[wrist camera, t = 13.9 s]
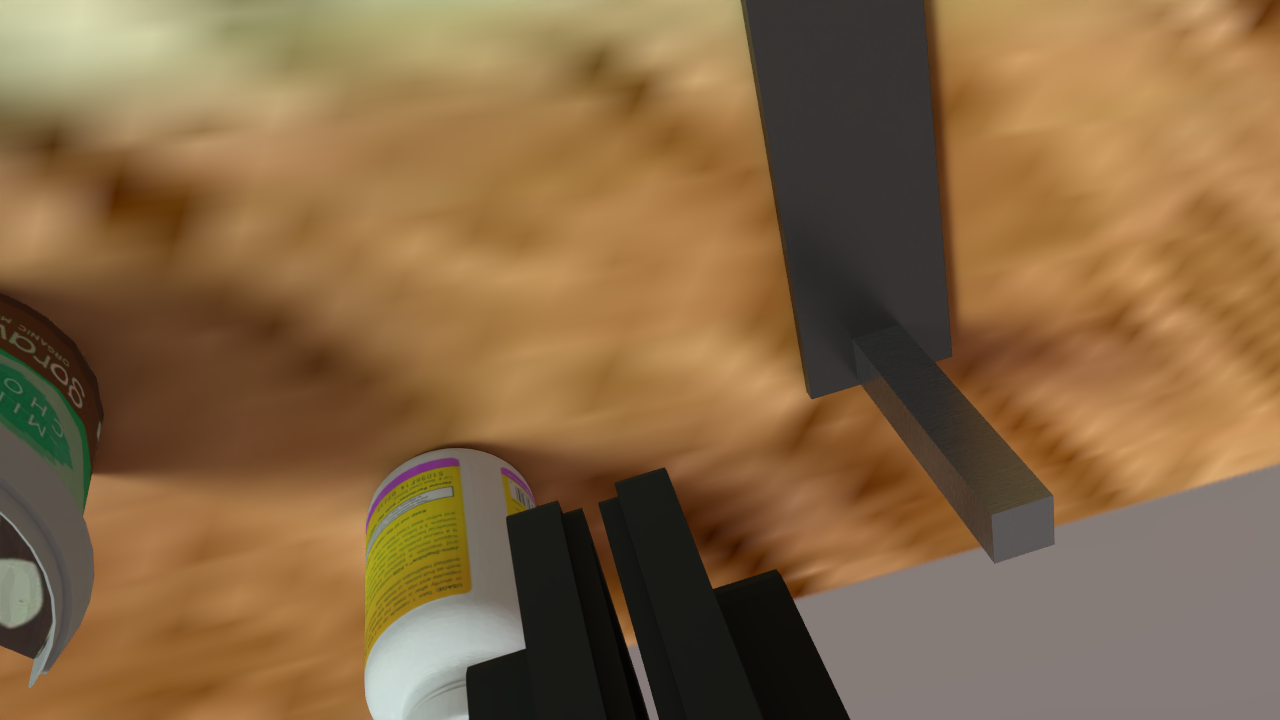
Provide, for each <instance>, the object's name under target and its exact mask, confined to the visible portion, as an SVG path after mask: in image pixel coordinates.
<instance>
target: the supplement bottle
mask: <svg viewBox="0 0 1280 720" xmlns="http://www.w3.org/2000/svg"><path fill="white" fill-rule="evenodd" d="M535 507H536V504H535V500H534V497H533V494H532V492H531V489H530V488H529V486H528V484H527V482H526V481H525V479H524V478H523V477H522V476H521V474H520V473H519V472H518V471H517V470H516V469H515V468H514V467H512V466H511V465H510V464H508V463H507V462H505V461H504V460H502V459H500V458H498V457H496V456H494V455H492V454H489V453H486V452H482V451H478V450H473V449H465V448H447V449H440V450H435V451H430V452H427V453H424V454H421V455H419V456H416V457H414V458H412V459H410V460H408V461H406V462H405V463H403V464H401V465H400V466H399V467H397V468H396V469H395V470H393V471H392V472H391V473H390V474H389V475H388V476H387V477H386V478H385V479H384V480H383V482H382V483H381V484H380V486H379V487H378V488H377V490H376V492H375V494H374V496H373V498H372V500H371V503H370V506H369V510H368V515H367V523H366V576H365V694H366V700H367V704H368V707H369V710H370V713H371V715H372V717H373V719H374V720H469V715H468V703H467V691H466V671H467V667H469V666H472V665H475V664H478V663H481V662H485V661H488V660H491V659H494V658H497V657H500V656H503V655H507V654H510V653H513V652H516V651H519V650H522V649H526V647H525V641H524V634H523V628H522V621H521V615H520V608H519V602H518V596H517V589H516V583H515V576H514V570H513V563H512V557H511V550H510V544H509V538H508V531H507V524H506V516H509V515H512V514H515V513H518V512H522V511H525V510H528V509H531V508H535Z"/></svg>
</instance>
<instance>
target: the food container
mask: <svg viewBox="0 0 1280 720" xmlns="http://www.w3.org/2000/svg"><path fill="white" fill-rule="evenodd" d="M103 416H104V413H103V409H102V404H101V399H100V394H99V389H98V384H97V379H96V377H95V375H94V373H93V372H92V370H91V368H90V367H89V365H88V364H87V362H86V360H85V359H84V357H83V356H82V354H81V352H80V351H79V349H78V348H77V346H76V344H75V343H74V342H73V341H72V340H71V339H70V338H69V337H68V336H67V335H66V334H64V333H63V332H62V331H61V330H60V329H59V328H58V327H57V326H56V325H54V324H53V323H52V322H51V321H50V320H49V319H48V318H46V317H45V316H43V315H42V314H40V313H38V312H37V311H35V310H34V309H32V308H31V307H29V306H27V305H25V304H23V303H21V302H19V301H17V300H15V299H13V298H10V297H8V296H6V295H4V294H1V293H0V645H1V646H3V647H5V648H8V649H10V650H13V651H15V652H17V653H20V654H22V655H25V656H27V657H29V658H32V659H34V664H33V668H32V673H31V677H30V682H29V686H28V687H32V686H33V684H34V683H35V681H36V679H37V678H38V676H39V675H40V673H43V674H47V672H48V671H49V670H50V668H51V667H52V665H53V664H54V663H55V661H56V660H57V658H58V657H59V656H60V654H61V653H62V652H63V650H64V649H65V647H66V646H67V644H68V643H69V641H70V640H71V638H72V637H73V635H74V634H75V632H76V631H77V629H78V628H79V626H80V624H81V622H82V620H83V617H84V615H85V612H86V610H87V607H88V605H89V602H90V598H91V592H92V586H93V580H94V561H93V548H92V544H91V541H90V537H89V533H88V529H87V526H86V522H85V520H84V518H83V514H84V509H85V504H86V499H87V495H88V490H89V485H90V480H91V475H92V471H93V466H94V461H95V456H96V451H97V446H98V441H99V436H100V431H101V426H102V421H103Z"/></svg>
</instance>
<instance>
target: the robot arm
mask: <svg viewBox="0 0 1280 720" xmlns="http://www.w3.org/2000/svg"><path fill="white" fill-rule="evenodd" d="M615 487H616V491H617V494H618V497H616V498H612V499H609V500H606V501H603V502H599V503H598V504H599V508H600V511H601V515H602V518H603V522H604V525H605V529H606V532H607V536H608V540H609V543H610V547H611V550H612V554H613V557H614V561H615V564H616V568H617V572H618V575H619V579H620V582H621V586H622V589H623V593H624V596H625V600H626V604H627V607H628V611H629V614H630V618H631V621H632V625H633V628H634V632H635V636H636V639H637V643H638V646H639V650H640V653H641V657H642V660H643V664H644V667H645V671H646V674H647V678H648V682H649V685H650V689H651V692H652V696H653V700H654V703H655V706H656V710H657V714H658V717H659V720H850V718H849V716H848V714H847V712H846V710H845V708H844V705H843V704H842V701H841V699H840V697H839V695H838V693H837V691H836V689H835V687H834V685H833V683H832V680H831V678H830V676H829V674H828V672H827V670H826V668H825V666H824V664H823V662H822V659H821V657H820V655H819V653H818V651H817V649H816V647H815V645H814V643H813V641H812V639H811V636H810V635H809V632H808V630H807V628H806V626H805V624H804V622H803V620H802V618H801V616H800V613H799V611H798V609H797V608H796V605H795V603H794V601H793V599H792V597H791V595H790V592H789V590H788V588H787V586H786V584H785V582H784V581H783V579H782V577H781V575H780V573H779V572H778V571H777V570H776V569H775V570H772V571H769V572H766V573H762V574H759V575H756V576H753V577H750V578H747V579H744V580H740V581H737V582H734V583H731V584H728V585H725V586H721V587H718V588H715V589H712V586H711V584H710V581H709V578H708V576H707V573H706V571H705V568H704V566H703V563H702V560H701V558H700V555H699V553H698V550H697V548H696V545H695V542H694V540H693V537H692V535H691V532H690V530H689V527H688V524H687V522H686V519H685V517H684V514H683V512H682V509H681V506H680V504H679V501H678V499H677V496H676V494H675V491H674V488H673V486H672V483H671V481H670V478H669V476H668V473H667V471H666V469H665V467H664V468H661V469H658V470H655V471H651V472H648V473H645V474H642V475H638V476H635V477H632V478H629V479H625V480H622V481H619V482H616V483H615ZM506 524H507V531H508V538H509V544H510V550H511V557H512V563H513V570H514V576H515V583H516V589H517V596H518V602H519V608H520V615H521V621H522V628H523V634H524V641H525V647H526V649H522V650H519V651H516V652H513V653H510V654H507V655H503V656H500V657H497V658H494V659H491V660H488V661H485V662H481V663H478V664H475V665H472V666H469V667H467V671H466V691H467V703H468V715H469V720H649V716H648V713H647V709H646V706H645V702H644V699H643V696H642V692H641V689H640V686H639V683H638V679H637V676H636V673H635V670H634V667H633V664H632V661H631V658H630V655H629V652H628V648H627V645H626V642H625V639H624V636H623V633H622V630H621V627H620V624H619V621H618V617H617V614H616V611H615V608H614V605H613V602H612V599H611V596H610V593H609V590H608V586H607V583H606V580H605V577H604V574H603V571H602V568H601V565H600V562H599V559H598V555H597V552H596V549H595V546H594V543H593V540H592V537H591V534H590V531H589V528H588V524H587V521H586V518H585V515H584V512H583V510H582V508H580V509H577V510H574V511H570V512H567V513H564V514H563V513H562V510H561V507H560V505H559V502H558V501H554V502H551V503H548V504H544V505H541V506H538V507H535V508H531V509H528V510H525V511H522V512H518V513H515V514H512V515H509V516H506Z"/></svg>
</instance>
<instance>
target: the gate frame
mask: <svg viewBox="0 0 1280 720" xmlns="http://www.w3.org/2000/svg"><path fill="white" fill-rule="evenodd" d="M741 4H742V10H743V16H744V22H745V28H746V34H747V40H748V46H749V52H750V58H751V64H752V69H753V75H754V81H755V87H756V93H757V99H758V105H759V111H760V117H761V123H762V129H763V135H764V141H765V147H766V153H767V159H768V165H769V171H770V177H771V183H772V188H773V194H774V200H775V206H776V212H777V218H778V224H779V230H780V236H781V242H782V248H783V254H784V260H785V266H786V272H787V278H788V284H789V290H790V296H791V302H792V308H793V313H794V319H795V325H796V331H797V337H798V343H799V349H800V355H801V361H802V367H803V373H804V379H805V385H806V391H807V393H808V395H809V396H810V398H811V399H815V398H818V397H821V396H824V395H828V394H831V393H834V392H837V391H841V390H844V389H847V388H850V387H854V386H857V385H860V384H861V385H862V387H863V388H864V389H865V391H866V392H867V393H868V395H869V396H870V397H871V399H872V400H873V401H874V403H875V404H876V405H877V407H878V408H879V409H880V411H881V412H882V413H883V415H884V416H885V417H886V419H887V420H888V422H889V423H890V424H891V426H892V427H893V428H894V430H895V431H896V432H897V434H898V435H899V436H900V438H901V439H902V440H903V442H904V443H905V444H906V446H907V447H908V448H909V450H910V451H911V452H912V454H913V455H914V456H915V458H916V459H917V460H918V462H919V463H920V464H921V466H922V467H923V468H924V470H925V471H926V472H927V474H928V475H929V476H930V478H931V479H932V480H933V482H934V483H935V484H936V486H937V487H938V489H939V490H940V491H941V493H942V494H943V495H944V497H945V498H946V499H947V501H948V502H949V503H950V505H951V506H952V507H953V509H954V510H955V511H956V513H957V514H958V515H959V517H960V518H961V519H962V521H963V522H964V523H965V525H966V526H967V527H968V529H969V530H970V531H971V533H972V534H973V535H974V537H975V538H976V539H977V541H978V542H979V543H980V545H981V546H982V547H983V549H984V550H985V551H986V553H987V554H988V556H989V557H990V558H991V560H992V561H993V562H994V563H998V562H1001V561H1004V560H1007V559H1010V558H1013V557H1017V556H1020V555H1023V554H1026V553H1029V552H1032V551H1035V550H1038V549H1041V548H1045V547H1048V546H1051V545H1054V505H1053V495H1052V493H1051V492H1050V491H1049V490H1048V489H1047V488H1046V487H1045V486H1044V485H1043V483H1042V482H1041V481H1040V480H1039V479H1038V478H1037V477H1036V476H1035V474H1034V473H1033V472H1032V471H1031V470H1030V469H1029V468H1028V467H1027V465H1026V464H1025V463H1024V462H1023V461H1022V460H1021V459H1020V458H1019V457H1018V455H1017V454H1016V453H1015V452H1014V451H1013V450H1012V449H1011V448H1010V446H1009V445H1008V444H1007V443H1006V442H1005V441H1004V440H1003V439H1002V437H1001V436H1000V435H999V434H998V433H997V432H996V431H995V430H994V429H993V427H992V426H991V425H990V424H989V423H988V422H987V421H986V420H985V418H984V417H983V416H982V415H981V414H980V413H979V412H978V411H977V409H976V408H975V407H974V406H973V405H972V404H971V403H970V402H969V401H968V399H967V398H966V397H965V396H964V395H963V394H962V393H961V392H960V390H959V389H958V388H957V387H956V386H955V385H954V384H953V383H952V382H951V380H950V379H949V378H948V377H947V376H946V375H945V374H944V373H943V371H942V370H941V369H940V368H939V367H938V366H937V365H936V364H935V361H938V360H942V359H945V358H948V357H951V356H952V349H951V336H950V324H949V311H948V299H947V287H946V274H945V262H944V249H943V237H942V225H941V212H940V200H939V187H938V175H937V163H936V150H935V138H934V125H933V113H932V101H931V88H930V76H929V64H928V51H927V39H926V26H925V14H924V2H923V0H741Z"/></svg>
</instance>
